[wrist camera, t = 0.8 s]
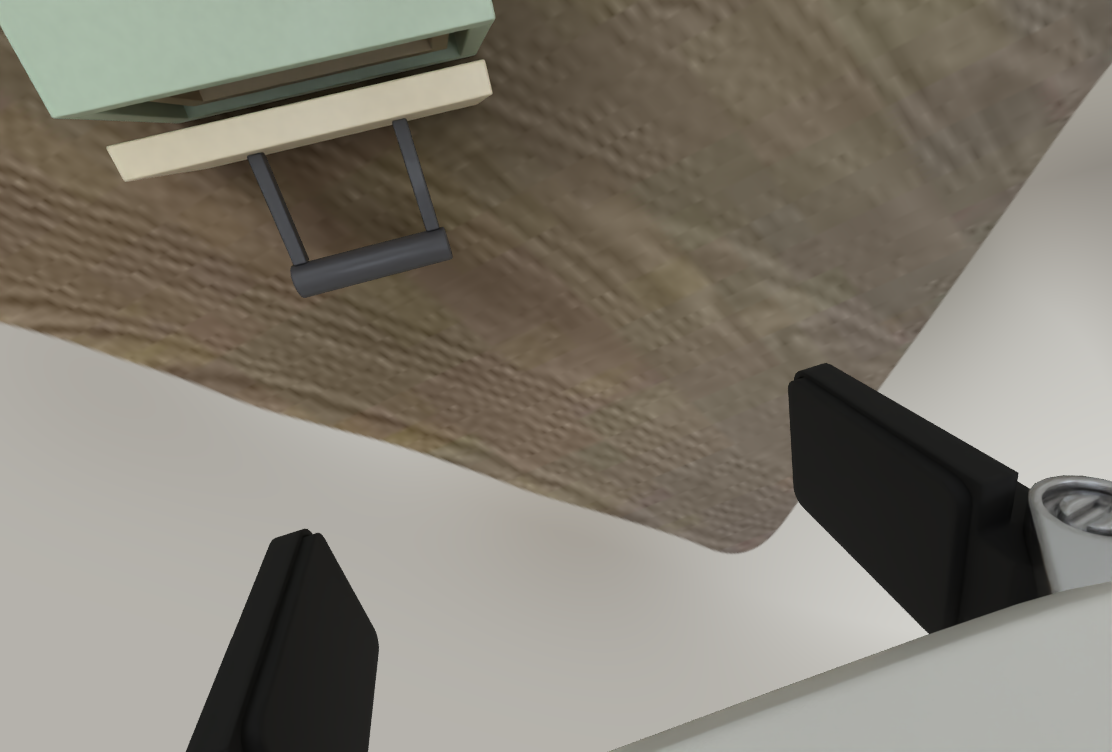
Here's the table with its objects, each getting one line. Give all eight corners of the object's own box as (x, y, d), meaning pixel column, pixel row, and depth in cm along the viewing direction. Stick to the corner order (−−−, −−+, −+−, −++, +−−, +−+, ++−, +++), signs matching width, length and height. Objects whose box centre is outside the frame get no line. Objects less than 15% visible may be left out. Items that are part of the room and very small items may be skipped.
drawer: (508, 224, 31) (530, 252, 24) (261, 289, 29) (207, 338, 22) (376, -302, 22) (348, -514, 15) (13, -241, 20) (-211, -440, 13)
